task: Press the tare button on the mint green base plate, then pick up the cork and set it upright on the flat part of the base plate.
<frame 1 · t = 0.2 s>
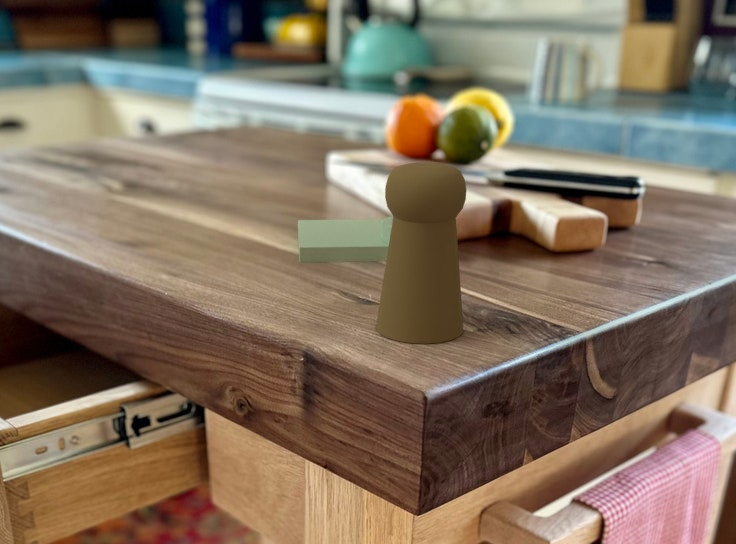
tare button: (414, 216, 75), point 3 cm above the countertop, slide at 0.1 cm
cork: (419, 330, 60), on the countertop
mint green base plate: (364, 247, 79), on the countertop
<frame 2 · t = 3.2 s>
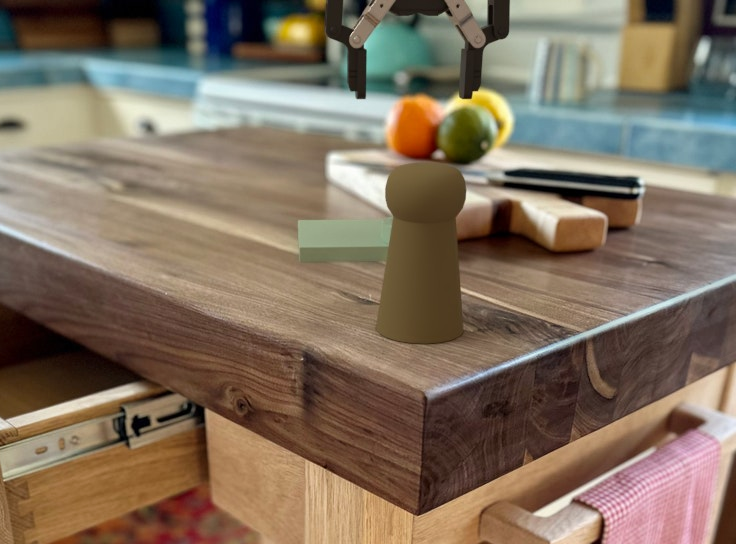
hand: (413, 98, 70), 13 cm above the countertop, tool pointing down, fingers open, 8 cm apart
nothing on the countertop moved.
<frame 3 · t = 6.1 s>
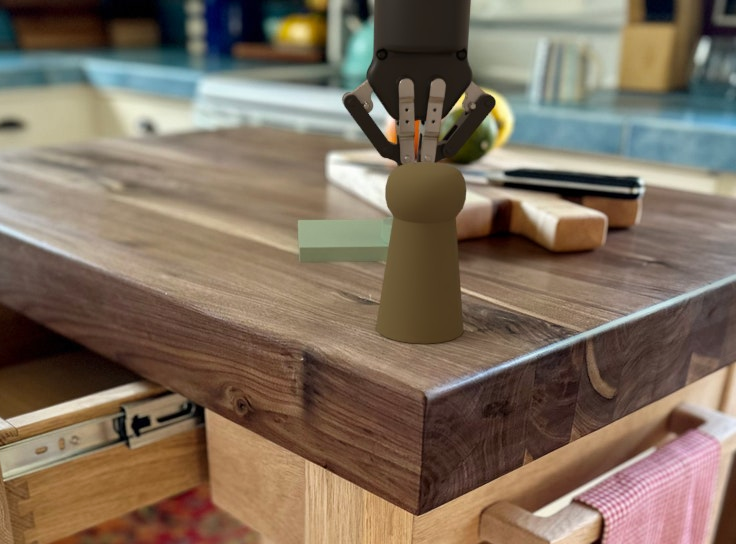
hand: (413, 208, 75), 4 cm above the countertop, tool pointing down, fingers closed
tare button: (414, 217, 75), point 3 cm above the countertop, slide at 0.1 cm, touching gripper
everything else where it was.
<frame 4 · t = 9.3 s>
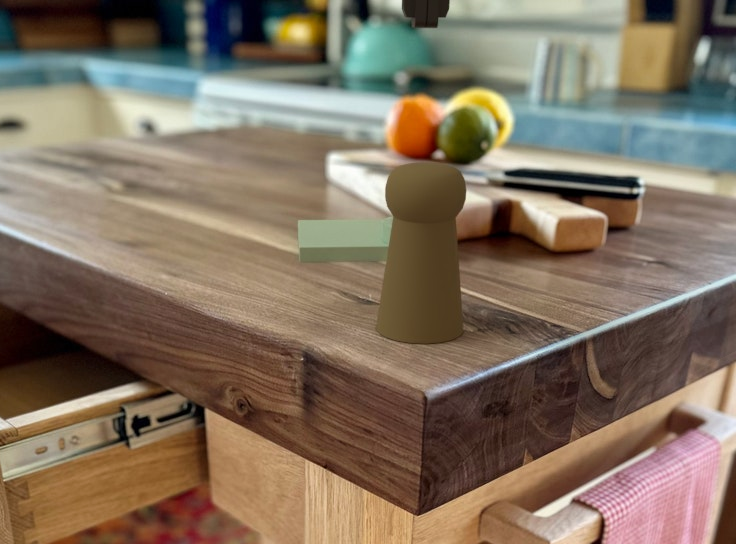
hand: (424, 27, 55), 19 cm above the countertop, tool pointing down, fingers closed
tare button: (414, 216, 75), point 3 cm above the countertop, slide at 0.1 cm
everything else where it was.
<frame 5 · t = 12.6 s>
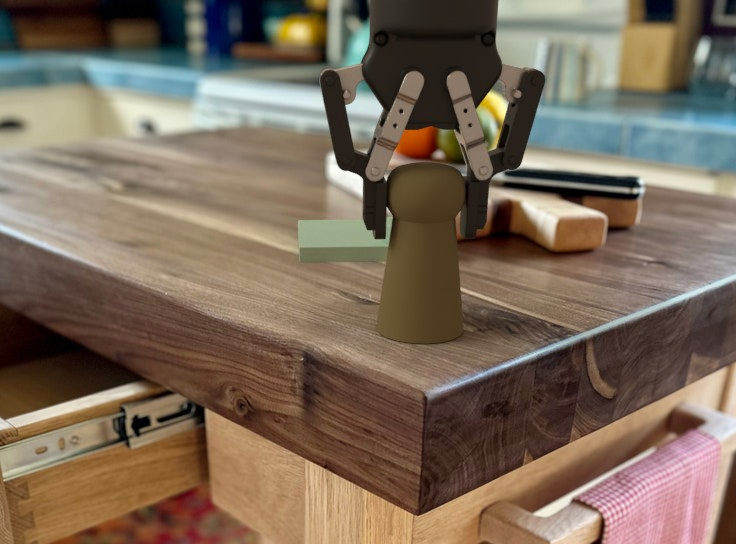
hand: (423, 235, 57), 6 cm above the countertop, tool pointing down, fingers closed on cork, 5 cm apart
cork: (419, 330, 60), on the countertop, touching gripper
everything else where it was.
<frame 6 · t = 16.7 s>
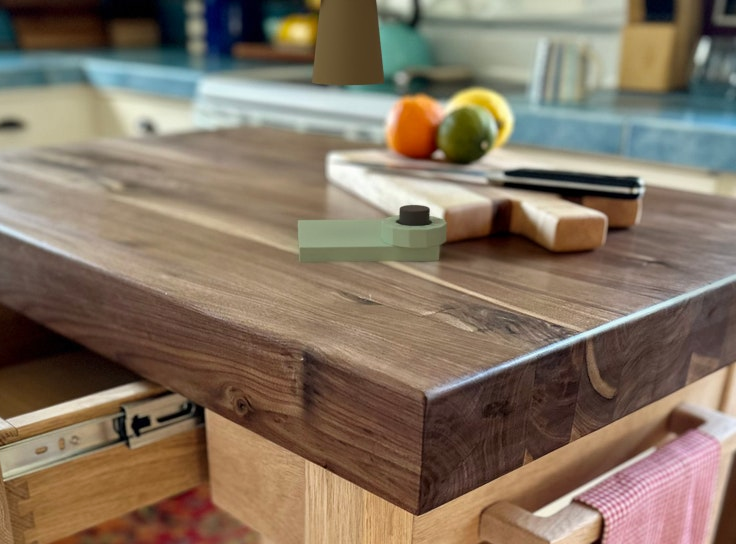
cork: (348, 84, 72), point 14 cm above the countertop, touching gripper
everything else where it was.
when the fingers open (8 cm above the countertop, at t = 20.9 s): cork stays where it is, resting on mint green base plate.
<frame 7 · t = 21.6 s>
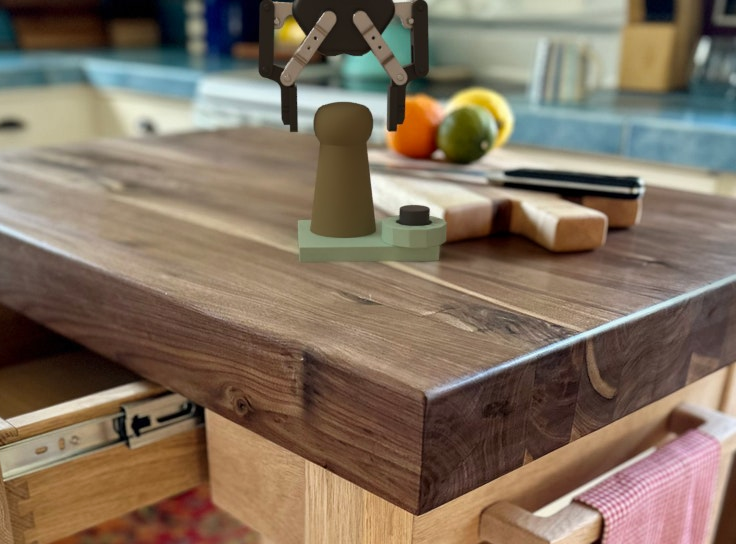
hand: (343, 130, 76), 10 cm above the countertop, tool pointing down, fingers open, 8 cm apart
cork: (343, 231, 79), point 1 cm above the countertop, touching mint green base plate
everything else where it was.
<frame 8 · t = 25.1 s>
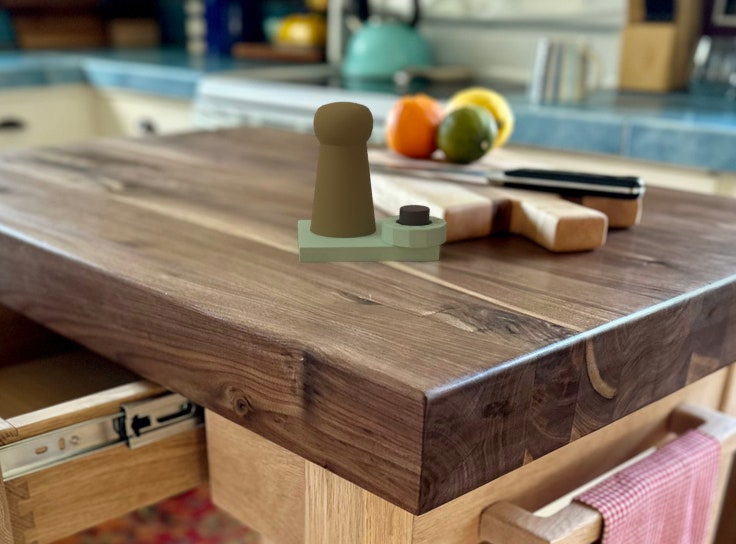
nothing on the countertop moved.
at the end: tare button pushed in 0.9 cm at the most during the clip, back to where it started at the end; cork inside the target area on the mint green base plate (1.0 cm from its centre), point 1.2 cm above the mint green base plate's base; cork touching mint green base plate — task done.
